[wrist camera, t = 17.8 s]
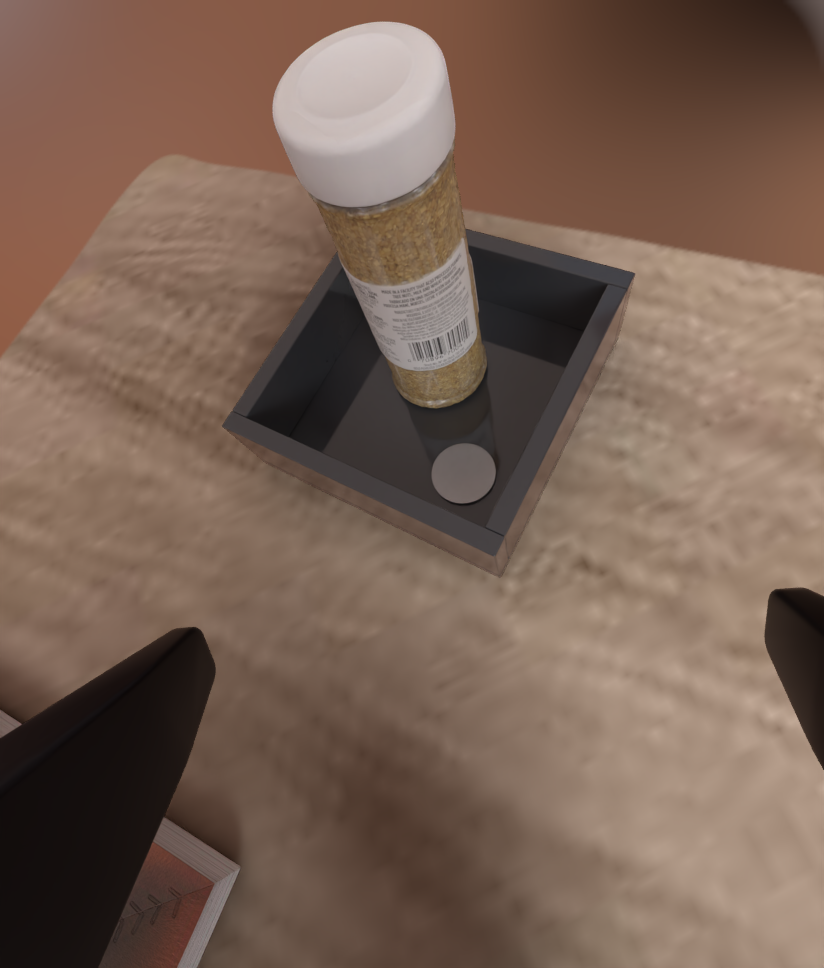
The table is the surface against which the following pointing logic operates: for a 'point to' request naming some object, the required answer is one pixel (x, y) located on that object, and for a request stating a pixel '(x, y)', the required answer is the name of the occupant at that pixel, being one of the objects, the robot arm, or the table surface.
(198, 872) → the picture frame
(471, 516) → the sink
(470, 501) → the disc
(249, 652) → the table surface
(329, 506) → the table surface
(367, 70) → the spice jar
